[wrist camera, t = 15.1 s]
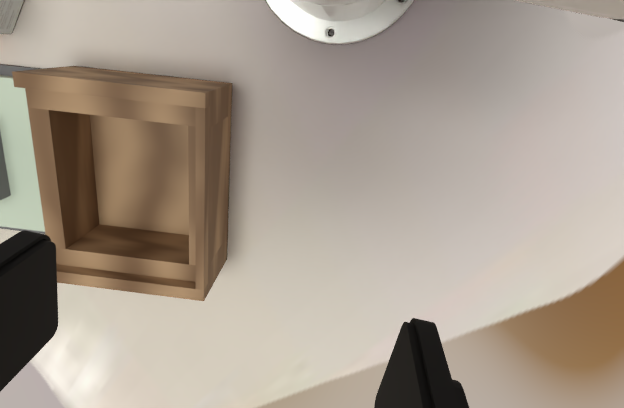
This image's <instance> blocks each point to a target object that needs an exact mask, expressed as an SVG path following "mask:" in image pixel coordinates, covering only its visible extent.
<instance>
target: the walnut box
mask: <svg viewBox="0 0 624 408" xmlns="http://www.w3.org/2000/svg"><path fill="white" fill-rule="evenodd" d="M12 75H13V82H14V87H18V88H25V91H26V98H27V106H28V113H29V120H30V127H31V134H32V141H33V148H34V156H35V163H36V170H37V177H38V184H39V191H40V198H41V206H42V213H43V220H44V227H45V234H46V235H48V236H49V237H50V239H51V242H53V243H55V245H56V265H57V282H58V283H66V284H74V285H82V286H90V287H97V288H105V289H113V290H121V291H129V292H137V293H144V294H152V295H160V296H168V297H176V298H184V299H191V300H199V301H204V300H205V298H206V296H207V294H208V292H209V291H210V289H211V287H212V285H213V283H214V282H215V280H216V278H217V276H218V274H219V272H220V271H221V269H222V267H223V265H224V263H225V262H226V260H227V240H228V206H229V172H230V138H231V104H232V83H225V82H216V81H207V80H198V79H188V78H179V77H170V76H161V75H152V74H143V73H134V72H124V71H115V70H106V69H97V68H88V67H79V66H70V67H58V68H47V69H35V70H24V71H12Z"/></svg>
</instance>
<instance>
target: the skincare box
mask: <svg viewBox="0 0 624 408" xmlns="http://www.w3.org/2000/svg"><path fill="white" fill-rule="evenodd" d="M23 1H24V0H0V34H11V33H12V32H13V29H14V26H15V23H16V20H17V18H18V15H19V12H20V9H21V7H22V4H23Z"/></svg>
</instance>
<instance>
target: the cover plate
mask: <svg viewBox="0 0 624 408" xmlns="http://www.w3.org/2000/svg"><path fill="white" fill-rule="evenodd" d="M0 226H2V227H10V228H18V229H26V230H34V231H42V232H45V227H44V220H43V213H42V206H41V198H40V191H39V184H38V177H37V170H36V163H35V156H34V148H33V141H32V134H31V127H30V120H29V113H28V106H27V98H26V91H25V88H18V87H14V82H13V77H12V76H3V75H0Z"/></svg>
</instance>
